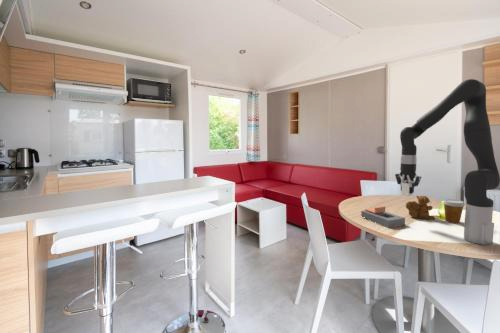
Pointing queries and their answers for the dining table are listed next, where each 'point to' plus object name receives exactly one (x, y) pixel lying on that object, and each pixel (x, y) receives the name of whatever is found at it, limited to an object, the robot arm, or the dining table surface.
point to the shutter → (376, 209)
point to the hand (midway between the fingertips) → (407, 192)
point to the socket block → (384, 218)
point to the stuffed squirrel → (420, 208)
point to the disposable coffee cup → (453, 210)
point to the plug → (406, 189)
